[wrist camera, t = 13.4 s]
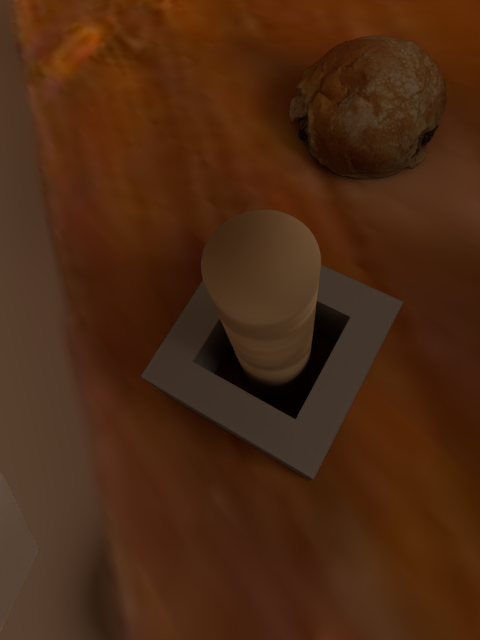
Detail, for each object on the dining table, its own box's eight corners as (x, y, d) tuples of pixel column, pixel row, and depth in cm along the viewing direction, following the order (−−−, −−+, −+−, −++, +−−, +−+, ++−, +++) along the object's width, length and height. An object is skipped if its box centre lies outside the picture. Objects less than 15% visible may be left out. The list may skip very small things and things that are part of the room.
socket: (245, 265, 31) (237, 226, 26) (385, 332, 28) (403, 301, 24) (165, 394, 28) (140, 376, 24) (309, 480, 26) (313, 479, 21)
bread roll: (366, 223, 35) (438, 180, 27) (256, 144, 33) (300, 74, 26) (417, 128, 38) (495, 65, 30) (317, 50, 36) (373, -39, 28)
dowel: (263, 324, 29) (238, 192, 16) (320, 352, 28) (342, 237, 15) (232, 377, 28) (178, 284, 15) (289, 409, 27) (284, 338, 14)
